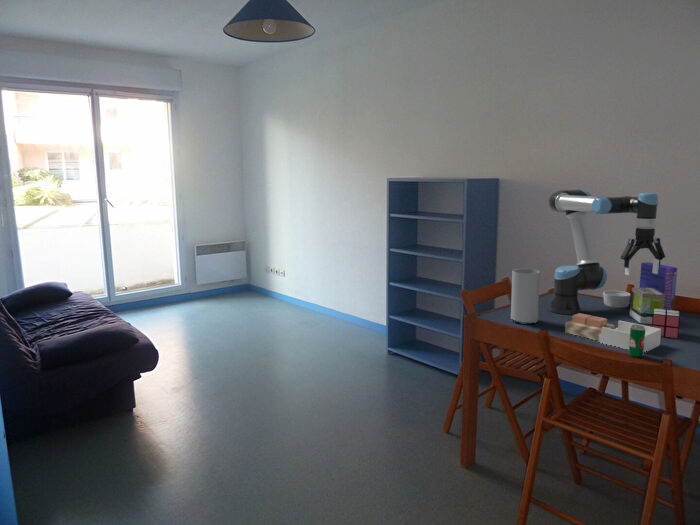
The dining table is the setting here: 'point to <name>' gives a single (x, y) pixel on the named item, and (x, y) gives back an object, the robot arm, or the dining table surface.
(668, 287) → the cereal box
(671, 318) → the puzzle cube
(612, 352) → the dining table surface
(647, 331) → the box
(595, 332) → the birch plate
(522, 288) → the cylinder vase
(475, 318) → the dining table surface
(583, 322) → the rear tile
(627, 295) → the ramekin
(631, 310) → the tea box
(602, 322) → the front tile
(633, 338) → the soda can
